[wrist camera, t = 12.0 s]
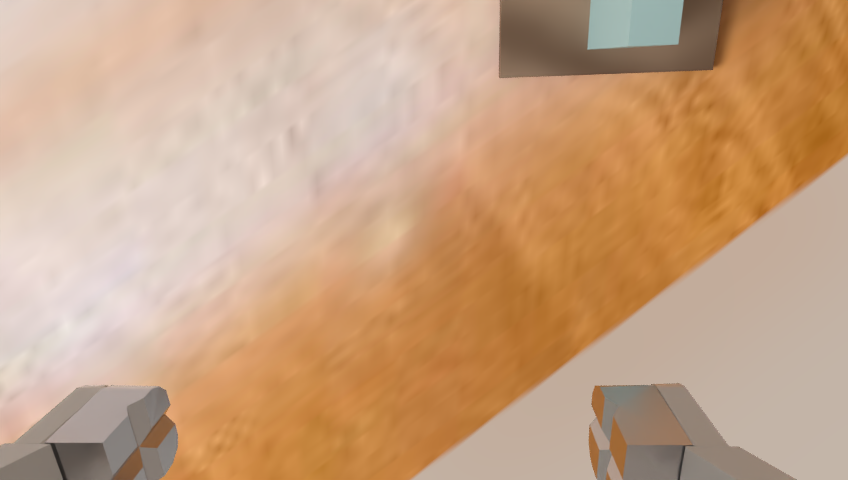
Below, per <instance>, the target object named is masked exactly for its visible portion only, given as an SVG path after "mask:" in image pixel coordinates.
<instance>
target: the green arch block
mask: <svg viewBox="0 0 848 480" xmlns="http://www.w3.org/2000/svg"><path fill="white" fill-rule="evenodd" d="M683 2H684V0H591V3H590V18H589V33H588V48H587V50H590V49H613V48H633V47H648V46H662V45H677V44H678V43H679V35H680V26H681V18H682V10H683Z"/></svg>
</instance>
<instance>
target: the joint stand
mask: <svg viewBox="0 0 848 480" xmlns="http://www.w3.org/2000/svg"><path fill="white" fill-rule="evenodd" d="M590 3H591V0H500V43H499V78H512V77H538V76H565V75H591V74H617V73H644V72H670V71H696V70H713V65H714V58H715V52H716V45H717V38H718V31H719V25H720V18H721V11H722V5H723V0H684V2H683V10H682V18H681V26H680V35H679V43H678V44H677V45H662V46H648V47H633V48H613V49H590V50H587V48H588V33H589V18H590Z"/></svg>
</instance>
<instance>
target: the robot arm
mask: <svg viewBox="0 0 848 480" xmlns="http://www.w3.org/2000/svg"><path fill="white" fill-rule="evenodd" d="M169 406H170V402H169V399H168V395H167V392H166V390H164V389H163V388H161V387H159V386H114V385H111V386H107V385H86V386H83V387H79V388H76V389H75V390H74V391H73V392H72V393H71V394H70V395H68V396H67V397H66V398H65V399H64V400H63V401H61V402H60V403H59V404H58V405H57V406H56V407H55V408H53V409H52V410H51V411H50V412H49V413H48V414H46V415H45V416H44V417H43V418H42V419H41V420H40V421H38V422H37V423H36V424H35V425H34V426H33V427H32V428H30V429H29V430H28V431H27V432H26V433H25V434H23V435H22V436H21V437H20V438H19V439H18V440H17V441H15V442H14V443H13V444H3V445H1V446H0V480H159V479H160V478H162V477H163V476H165V474H166V473H167V471H168V470H169V468H170V466H171V465H172V463H173V460H174V457H175V454H176V451H177V447H178V434H177V430H176V425H175V423H174V422H173V421H172V420H170V419H169V418H168V417H167V416H166V415H165V413H166V412H167V410H168V408H169ZM592 407H593V410H594V412H595V414H596V419H595V420H594V421H593V422H592V423H591V424H590V428H589V449H590V457H591V462H592V467H593V470H594V473H595V476H596V478H597V480H796V479H794V478H793V477H791V476H789V475H787V474H786V473H784V472H782V471H780V470H779V469H777V468H775V467H773V466H772V465H769V464H768V463H766V462H765V461H763V460H761V459H759V458H758V457H756V456H754V455H752V454H751V453H749V452H747V451H745V450H743V449H742V448H740V447H730V446H729V445H728V444H727V443H726V441H725V440H724V439H723V437H722V436H721V435H720V433H719V432H718V431H717V429H716V428H715V427H714V425H713V424H712V422H711V421H710V420H709V418H708V417H707V416H706V414H705V413H704V412H703V410H702V409H701V408H700V406H699V405H698V404H697V402H696V401H695V400H694V398H693V397H692V396H691V394H690V393H689V392H688V390H687V389H686V388H685V386H683V385H681V384H679V383H676V384H651V385H628V386H627V385H626V386H624V385H623V386H595V388H594V391H593V395H592Z"/></svg>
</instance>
